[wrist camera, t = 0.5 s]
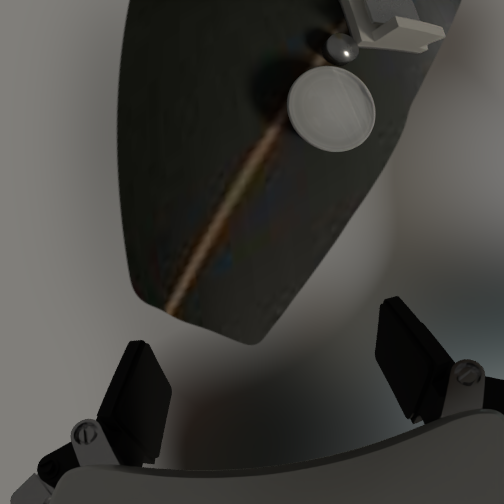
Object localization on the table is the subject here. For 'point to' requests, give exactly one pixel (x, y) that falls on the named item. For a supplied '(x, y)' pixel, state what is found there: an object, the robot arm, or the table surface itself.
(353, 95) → the ramekin
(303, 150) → the table surface
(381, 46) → the scale housing
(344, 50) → the shiny gray ball
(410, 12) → the pan
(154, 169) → the table surface
